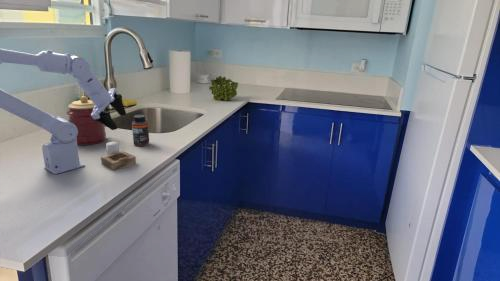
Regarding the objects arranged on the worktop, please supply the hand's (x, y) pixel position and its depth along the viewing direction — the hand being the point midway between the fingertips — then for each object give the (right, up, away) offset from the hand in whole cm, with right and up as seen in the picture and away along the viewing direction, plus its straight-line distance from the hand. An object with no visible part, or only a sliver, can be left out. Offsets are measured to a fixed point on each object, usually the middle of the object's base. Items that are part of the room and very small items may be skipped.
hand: (119, 121), depth 118 cm
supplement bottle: (+3, -8, +15) cm, 17 cm away
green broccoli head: (+28, +19, +101) cm, 106 cm away
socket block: (+2, -14, -5) cm, 15 cm away
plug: (-2, -12, +1) cm, 13 cm away
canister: (-19, -7, +17) cm, 26 cm away
